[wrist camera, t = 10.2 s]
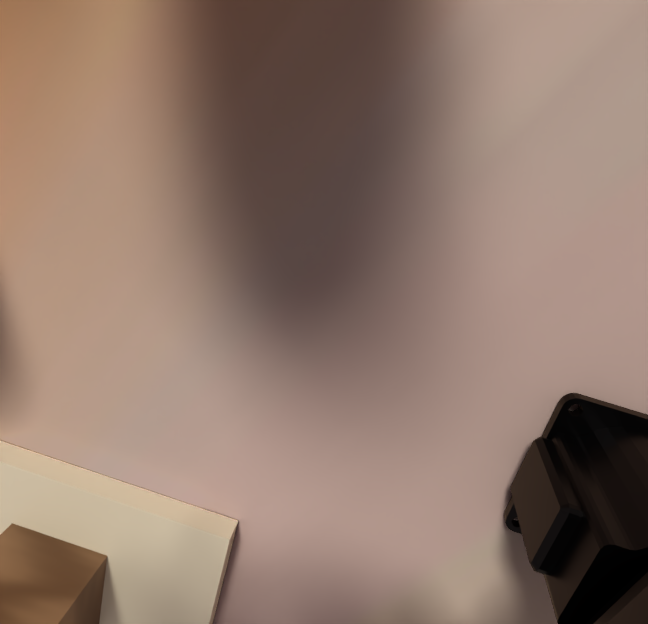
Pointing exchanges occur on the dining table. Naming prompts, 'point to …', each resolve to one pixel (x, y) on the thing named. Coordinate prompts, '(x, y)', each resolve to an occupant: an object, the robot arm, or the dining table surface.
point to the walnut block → (48, 579)
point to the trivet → (123, 537)
